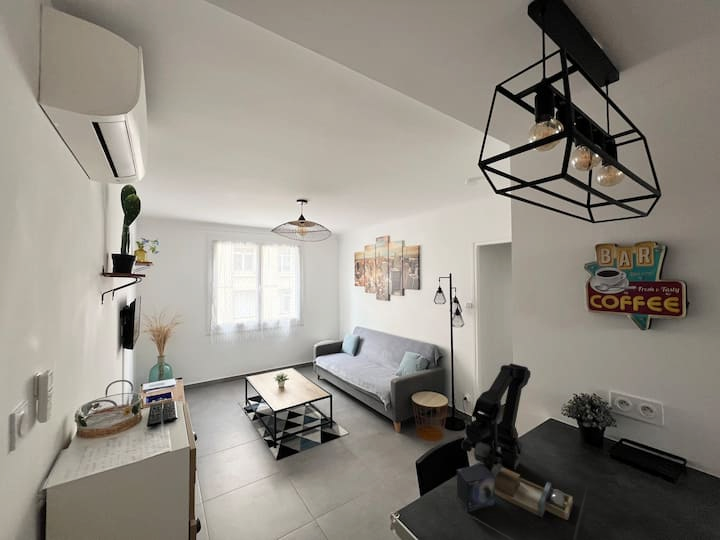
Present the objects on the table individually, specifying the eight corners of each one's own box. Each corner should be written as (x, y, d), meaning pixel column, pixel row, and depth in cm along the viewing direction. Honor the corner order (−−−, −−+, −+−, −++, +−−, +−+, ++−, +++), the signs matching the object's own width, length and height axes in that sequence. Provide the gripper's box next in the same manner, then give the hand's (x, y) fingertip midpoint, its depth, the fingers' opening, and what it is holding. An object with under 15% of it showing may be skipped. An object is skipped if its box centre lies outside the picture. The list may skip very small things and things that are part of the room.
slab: (502, 476, 108) (502, 467, 108) (520, 484, 104) (520, 474, 104) (494, 488, 102) (494, 478, 102) (513, 497, 98) (512, 487, 98)
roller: (549, 507, 94) (548, 496, 94) (552, 498, 98) (551, 487, 98) (563, 513, 91) (562, 501, 92) (565, 503, 95) (564, 492, 95)
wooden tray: (501, 473, 111) (501, 462, 111) (572, 504, 95) (572, 492, 95) (488, 492, 101) (488, 480, 101) (565, 530, 86) (565, 516, 86)
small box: (468, 515, 92) (467, 482, 92) (456, 499, 99) (455, 468, 99) (496, 507, 95) (495, 475, 95) (482, 492, 101) (482, 462, 101)
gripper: (454, 432, 108) (455, 474, 108) (508, 453, 95) (509, 501, 95) (467, 420, 116) (468, 459, 116) (519, 438, 103) (520, 483, 103)
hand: (489, 475), depth 107 cm, fingers closed
